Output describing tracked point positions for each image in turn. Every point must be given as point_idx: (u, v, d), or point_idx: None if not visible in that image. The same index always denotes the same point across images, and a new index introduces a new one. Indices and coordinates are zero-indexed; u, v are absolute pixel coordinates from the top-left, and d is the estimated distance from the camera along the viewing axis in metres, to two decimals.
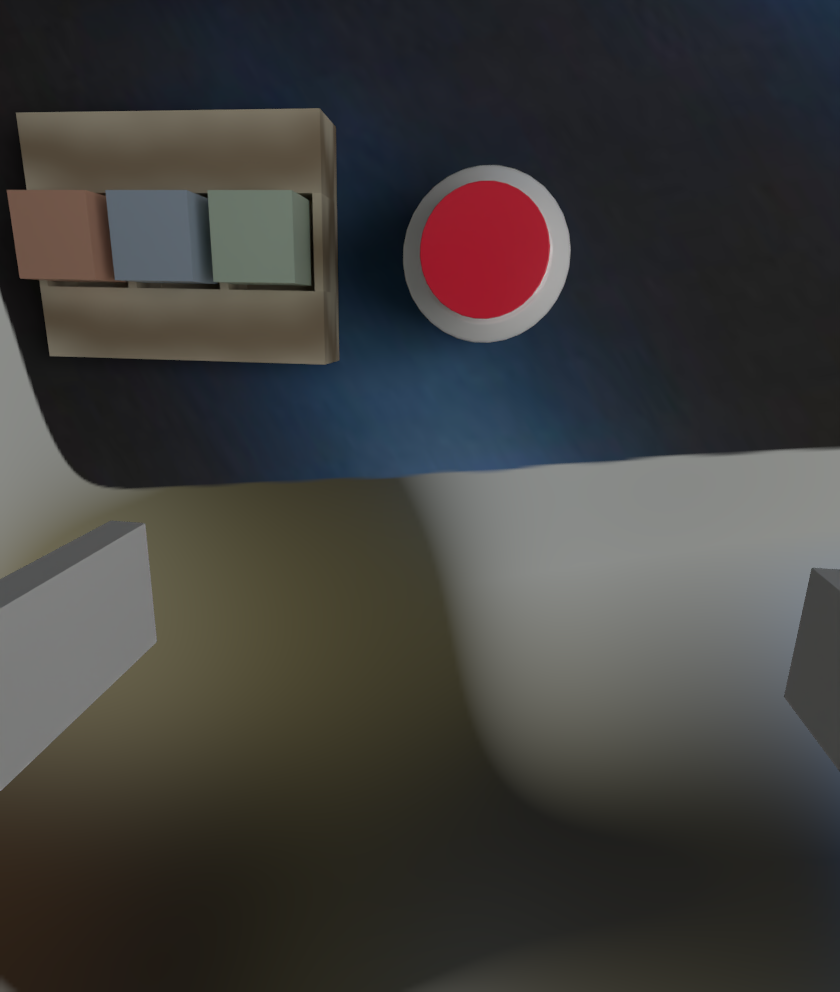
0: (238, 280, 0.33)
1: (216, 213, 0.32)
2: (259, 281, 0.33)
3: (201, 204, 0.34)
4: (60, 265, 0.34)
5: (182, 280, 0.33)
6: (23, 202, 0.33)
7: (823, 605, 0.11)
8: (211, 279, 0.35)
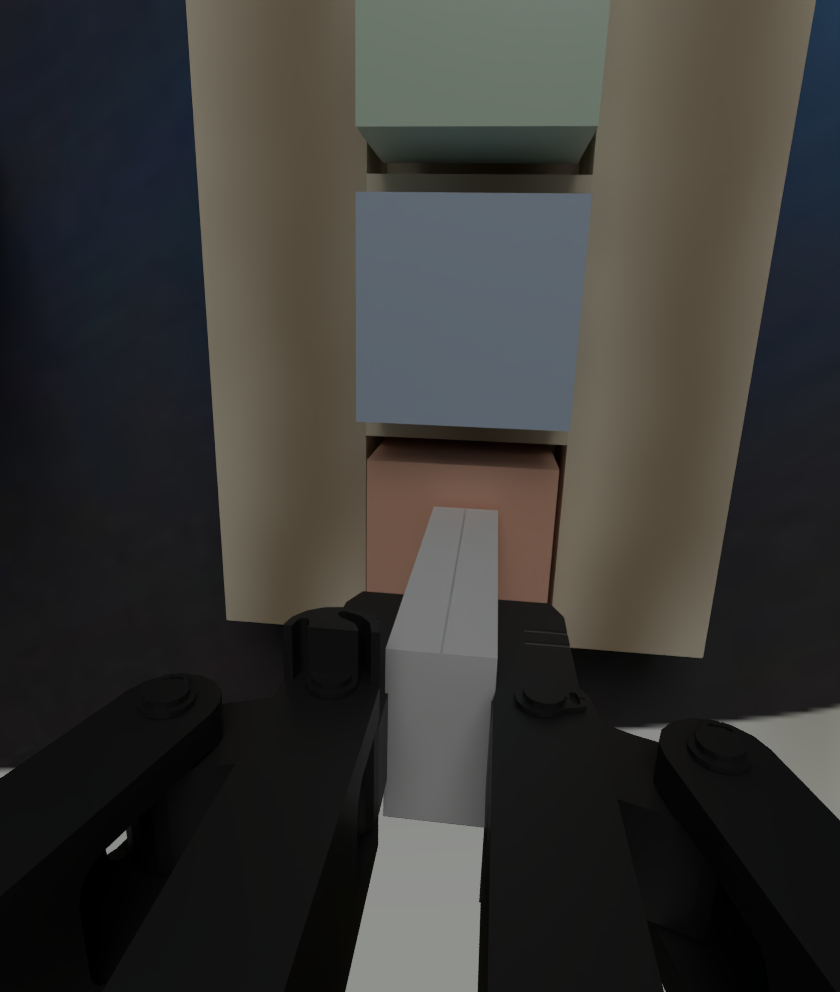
0: (602, 35, 0.11)
1: (414, 101, 0.11)
2: None
3: None
4: (523, 549, 0.15)
5: (585, 232, 0.12)
6: None
7: None
8: None
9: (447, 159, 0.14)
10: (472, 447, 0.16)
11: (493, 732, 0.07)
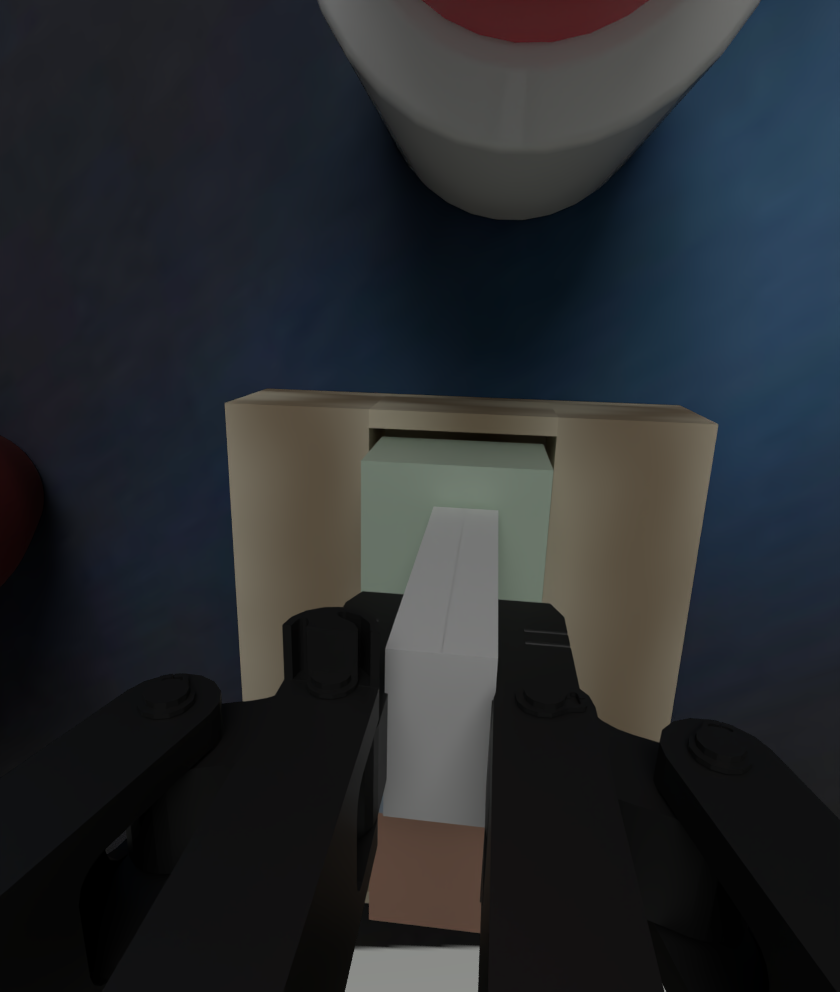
0: (538, 593, 0.15)
1: None
2: (544, 549, 0.15)
3: None
4: None
5: None
6: (387, 901, 0.20)
7: None
8: None
9: None
10: None
11: (493, 732, 0.07)
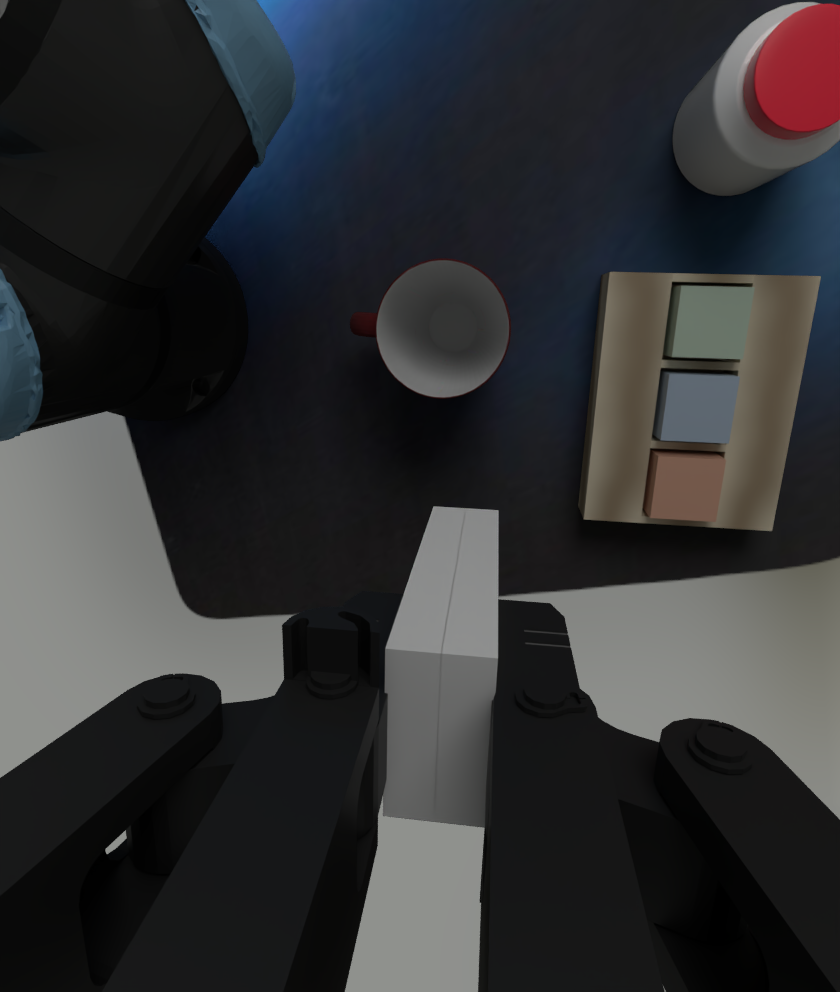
0: (745, 337, 0.40)
1: (690, 351, 0.41)
2: (748, 318, 0.40)
3: (670, 372, 0.43)
4: (711, 487, 0.43)
5: (737, 386, 0.41)
6: (660, 506, 0.44)
7: None
8: (724, 373, 0.43)
9: None
10: (686, 451, 0.45)
11: (493, 732, 0.07)
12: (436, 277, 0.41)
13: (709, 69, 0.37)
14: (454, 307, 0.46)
